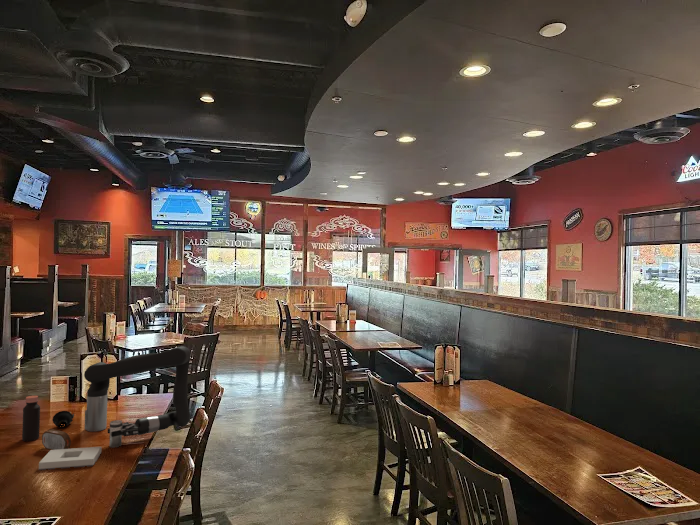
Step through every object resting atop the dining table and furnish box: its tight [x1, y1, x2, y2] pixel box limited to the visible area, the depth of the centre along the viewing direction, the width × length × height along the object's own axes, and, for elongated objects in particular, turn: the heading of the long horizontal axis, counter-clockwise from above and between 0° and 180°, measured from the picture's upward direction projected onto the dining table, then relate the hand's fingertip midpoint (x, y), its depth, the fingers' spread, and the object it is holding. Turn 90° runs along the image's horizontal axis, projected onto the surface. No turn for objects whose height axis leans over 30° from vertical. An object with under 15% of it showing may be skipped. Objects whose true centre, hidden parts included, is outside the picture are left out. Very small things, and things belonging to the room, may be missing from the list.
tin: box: [41, 428, 72, 450], centre depth 216 cm, size 15×3×8 cm, turn 71°
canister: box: [108, 419, 123, 449], centre depth 222 cm, size 5×5×11 cm
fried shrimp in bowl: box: [51, 410, 75, 429], centre depth 249 cm, size 9×11×18 cm
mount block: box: [38, 446, 102, 471], centre depth 203 cm, size 20×14×3 cm
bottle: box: [21, 395, 41, 442], centre depth 228 cm, size 7×7×20 cm
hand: (109, 432), depth 220 cm, fingers closed on canister, 5 cm apart
